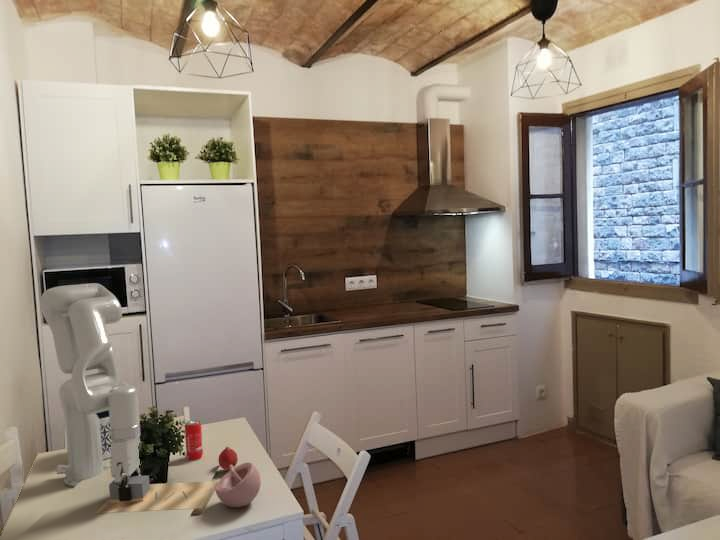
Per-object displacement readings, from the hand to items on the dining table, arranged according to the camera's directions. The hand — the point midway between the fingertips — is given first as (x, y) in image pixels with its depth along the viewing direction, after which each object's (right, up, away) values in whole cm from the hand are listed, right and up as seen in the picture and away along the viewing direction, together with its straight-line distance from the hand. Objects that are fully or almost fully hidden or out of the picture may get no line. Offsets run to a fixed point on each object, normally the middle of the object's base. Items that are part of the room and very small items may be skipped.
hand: (130, 494), depth 153 cm
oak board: (+8, -2, 0) cm, 8 cm away
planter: (-26, -1, +38) cm, 46 cm away
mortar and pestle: (+31, -1, -4) cm, 31 cm away
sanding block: (0, -1, 0) cm, 1 cm away
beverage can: (+9, 0, +30) cm, 31 cm away
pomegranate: (+23, 0, +18) cm, 29 cm away
